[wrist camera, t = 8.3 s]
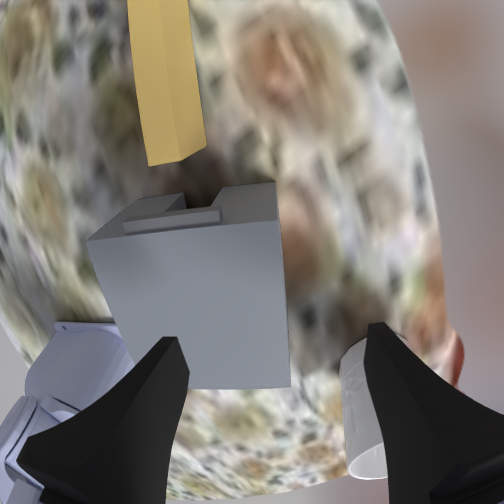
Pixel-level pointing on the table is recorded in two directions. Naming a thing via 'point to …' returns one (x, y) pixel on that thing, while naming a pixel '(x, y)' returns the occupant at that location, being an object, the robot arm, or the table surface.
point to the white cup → (361, 417)
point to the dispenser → (201, 284)
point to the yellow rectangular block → (166, 79)
